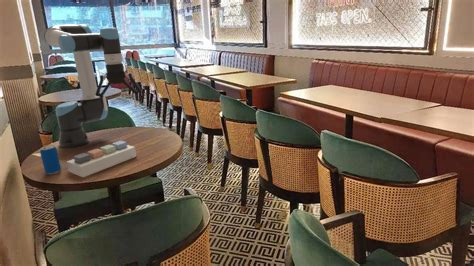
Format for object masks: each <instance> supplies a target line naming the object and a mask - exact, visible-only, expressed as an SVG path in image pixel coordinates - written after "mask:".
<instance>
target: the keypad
mask: <svg viewBox="0 0 474 266" xmlns="http://www.w3.org/2000/svg"><path fill="white" fill-rule="evenodd" d="M136 151H137V150H136V147H135V146H133V145H129V144H127V148H124V149H121V150H116V151H115V152H113V153H110V154H107V155H106V154H103V155H104V156H102V157H99V158H96V159H92V158H90V159H91V160H90V161H88V162H85V163H82V164H78V163H76V162H75V160H74V158H72V159H69V160H67V161H66V164H67V169H68V172H69V173H71V174H73V175H76V176H79V177H81V178H85V177H88V176H90V175H93V174H96V173H98V172H100V171H103V170H106V169H108V168H111V167H113V166H116V165H118V164H121V163H123V162H126V161H129V160H131V159H134V158H135V157H137V152H136Z"/></svg>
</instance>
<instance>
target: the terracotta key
mask: <svg viewBox="0 0 474 266" xmlns="http://www.w3.org/2000/svg"><path fill="white" fill-rule="evenodd" d="M87 154H88V155H90V158H92V159H96V158H99V157H102V156H104V155H103V150H101V149H99V148H94V149H91V150H89V151H87Z"/></svg>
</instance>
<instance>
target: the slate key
mask: <svg viewBox="0 0 474 266" xmlns="http://www.w3.org/2000/svg"><path fill="white" fill-rule="evenodd" d="M111 145H113V146H115V149H116V150H121V149H124V148H127V145H128V144H127V141H124V140H118V141H116V142H113V143H112V144H111Z"/></svg>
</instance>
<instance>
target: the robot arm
mask: <svg viewBox="0 0 474 266" xmlns="http://www.w3.org/2000/svg"><path fill="white" fill-rule="evenodd" d="M43 39H44V42H45V43H46V44H47V45H49V46H51V47H53V48H59V49H60V51H61V52H62V53H72V55H73V58H74V64H75V69H76V71H77V76H78V77H77V79H78V81H79V86H80V91H81V92H80V93H81V98H80V102H78V101H76V100H72V101H66V102H63V103H60V104H58V105H57V106H56V107H55V116H56V118H57V124H58V127H59V139H58V145H59V147H60V148H74V147H75V148H76V147H78V146H79V147H81V146H83V145H85V144H87V143H88V142H89V141H90V140H89V137H88V135H87V134H86V133H87V132H86V131H85V129H84V128H83V124H86V123H90V122H91V123H92V122H96V121H100V120H105V118H107V116H108V111H109V108H108V107H109V106H108V103H107V98H106V95H105V94H106V92H107V90H108V89H109V88H110V86H111V85H117V84H118V85H121V84H124V85H125V86H126V87H127V88H128V89H129V90H130V91H131V92H133V102H134V108H135V109H137V108H138V105H137V104H138V103H137V102H138V101H139V94H140V93H141V91H142V88H141V87H140V86H139V84H138V83H137V81H136V80H135V79H134V77H133V74H132V73H131V72H128V73H125V68H124V63H123V54H122V49H121V48H122V47H121V43H120V41H121V40H120V33H119V31H118V28H117V27H102V28H100V29H99V32H95V33H93V31H92V29H91V28H90V27H89V26H88V25H87V24H84V23H82V24H81V23H74V24H73V23H72V24H57V25H56V24H55V25H51V26H49V27H48V28H46V29H45V31H44V33H43ZM91 51H103V57H104V63H105V68H106V74H105V75H103V74H101V75H100V76H99V82H98V85H97V81H96V75H95V71H94V66H93V61H92V57H91ZM126 77H127V79H129V81H130V82H131V83H132V85H131V84H130V83H129V82H128V81H127V80H126ZM106 79H107V80H108V82H107V84H106V85H105V87H104V88H103V90H102V92H101V89H102V87H103V84H104V82H105V80H106ZM133 86H134V87H135V88H134V87H133ZM100 92H101V93H100Z"/></svg>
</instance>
